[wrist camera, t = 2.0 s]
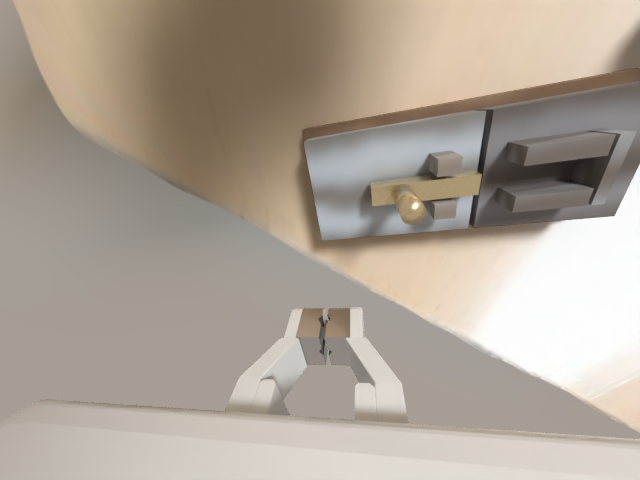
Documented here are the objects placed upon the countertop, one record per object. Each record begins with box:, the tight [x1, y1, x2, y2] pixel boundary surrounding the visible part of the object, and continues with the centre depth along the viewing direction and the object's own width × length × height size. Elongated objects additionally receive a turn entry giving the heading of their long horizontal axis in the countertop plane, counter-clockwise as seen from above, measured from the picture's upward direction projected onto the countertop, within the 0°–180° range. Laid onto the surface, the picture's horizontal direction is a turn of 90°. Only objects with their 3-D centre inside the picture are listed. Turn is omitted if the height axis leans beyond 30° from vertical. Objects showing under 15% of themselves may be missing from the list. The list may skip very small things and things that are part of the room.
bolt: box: [370, 169, 482, 225], centre depth 21 cm, size 2×10×7 cm, turn 100°
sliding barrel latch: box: [302, 68, 640, 241], centre depth 25 cm, size 14×32×8 cm, turn 100°
